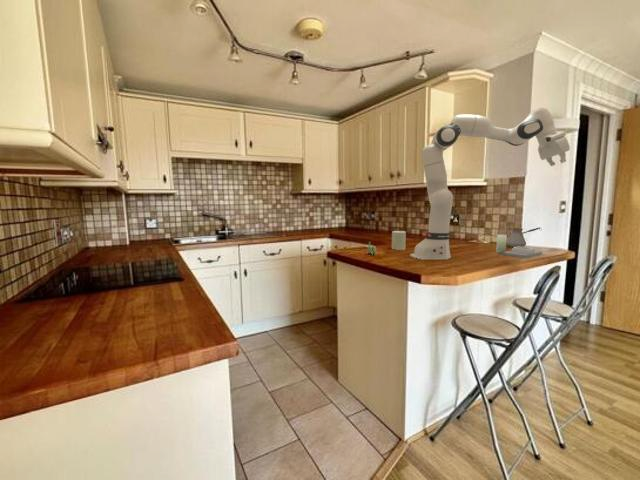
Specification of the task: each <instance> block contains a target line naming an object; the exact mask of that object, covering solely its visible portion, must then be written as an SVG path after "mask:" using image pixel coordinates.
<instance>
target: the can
mask: <svg viewBox="0 0 640 480" xmlns="http://www.w3.org/2000/svg"><path fill="white" fill-rule="evenodd" d="M406 236H407V232H406V231H403V230H393V231H391V250H394V249H395V250H396V251H405V250H406V241H407V240H406V239H407V237H406Z"/></svg>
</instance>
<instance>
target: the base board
mask: <svg viewBox="0 0 640 480" xmlns="http://www.w3.org/2000/svg"><path fill="white" fill-rule="evenodd" d="M540 254H541V255H543V251H539V250H535V247H527V246H524V247H520V246H518V247H513V248H512V247H511V250H509V251H505V252H503V253H502V256H507V257H513V258H515V257H516V258H520V259H527V258H532V257H537V256H539V255H540Z"/></svg>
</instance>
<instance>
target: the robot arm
mask: <svg viewBox="0 0 640 480" xmlns="http://www.w3.org/2000/svg"><path fill="white" fill-rule="evenodd" d="M460 136H463V137H471V138H486V139H491V140H495V141H496V140H498V141H502V142H506V143H507V144H509V145H510V146H514V147H519V146H522V145H523V144H525V143H526V142H528V141H529V140H531V139H533V138H534V137H535V138H536V139H537V140H536V141H537V143H538V146H537V147H538V148H537V151H538V155H539V157H540V160H541V161H544V160H546V162H547V163H548V164H549V166H550V167H553V166H555V165H556V162H555V161H554V160H553V157H555V156H558V155H559V158H560V159H559V161H560V163H561V164H563V163H566V162H567V159H566V152H568V151H570V149H571V146H570V144H569V141H568V139H567V138H568V137H566V131H563V130H562V131H561V130H559V131H558V129H557V128H556V126H555V121H554V118H553V117H552V114H551V112H550V111H549V109H547V108H545V107H542V108H541V107H540V108H537V109H535V110H533V111H531V112H530V113H529V114H528V115H527V116H526V118H525V119H524V120H522V121H521V122H520V123H518V125H516V126H515V127H512V128H504V127H498V126H494V125H493V124H492V123H491V120H490V118H489V117H487V116H484V115H481V114H469V113H463V114H461V113H460V114H456V115H455V116H454V117H452V119H451V121H450V123H448V124H447V125H444V126H442V127H440V129H438V130H437V131H436V132H435V134H434V136H433V137H432V141H431V143H430V144H427V145H426V146H424V147H423V149H422V150H421V151H422V152H421V159H422V167H423V171H424V176H425V177H424V178H425V182H426V189H427V190H426V191H427V197H428V201H429V203H430V211H429V216H428V231H427V233H426V232H422V237H425V238H424V239H423V240H422V241H420V242H418V243H417V244H416V245H415V247H414V250H413V253H410V255H409V256H410V257H411V258H414V259H416V258H417V259H416V260H422V261H423V260H429V261H430V260H434V261H435V260H437V261H439V260H440V261H441V260H447V261H448V260H449V259H451V258H452V255H451V252H450V237H451V236H450V235H451V233H450V225H451V224H450V222H451V214H452V207H453V201H454V196H453V192H451V190H450V189H449V188H448V187H449V186H448V175H447V171H446V165H445V161H444V151H446V150H447V149H449V148H451V147H452V146H453V145H454V144H455V143H456V142H457V140H458V139H459V137H460Z"/></svg>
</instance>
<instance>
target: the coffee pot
mask: <svg viewBox="0 0 640 480" xmlns="http://www.w3.org/2000/svg"><path fill="white" fill-rule="evenodd" d="M537 230H539V231H543V230H542V228H541V227H536V228H533V229H529V230H526V231H524V229H523V228H521V227H520V228H519V227H512V232H511V234H510V236H509V238H507V240H506V246H508V247H509V246H510V247H509V248H512V247H518V246H520V247H526V245H527V242H526V239H525V236H524V234H526V233H530V232H534V231H537Z"/></svg>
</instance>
